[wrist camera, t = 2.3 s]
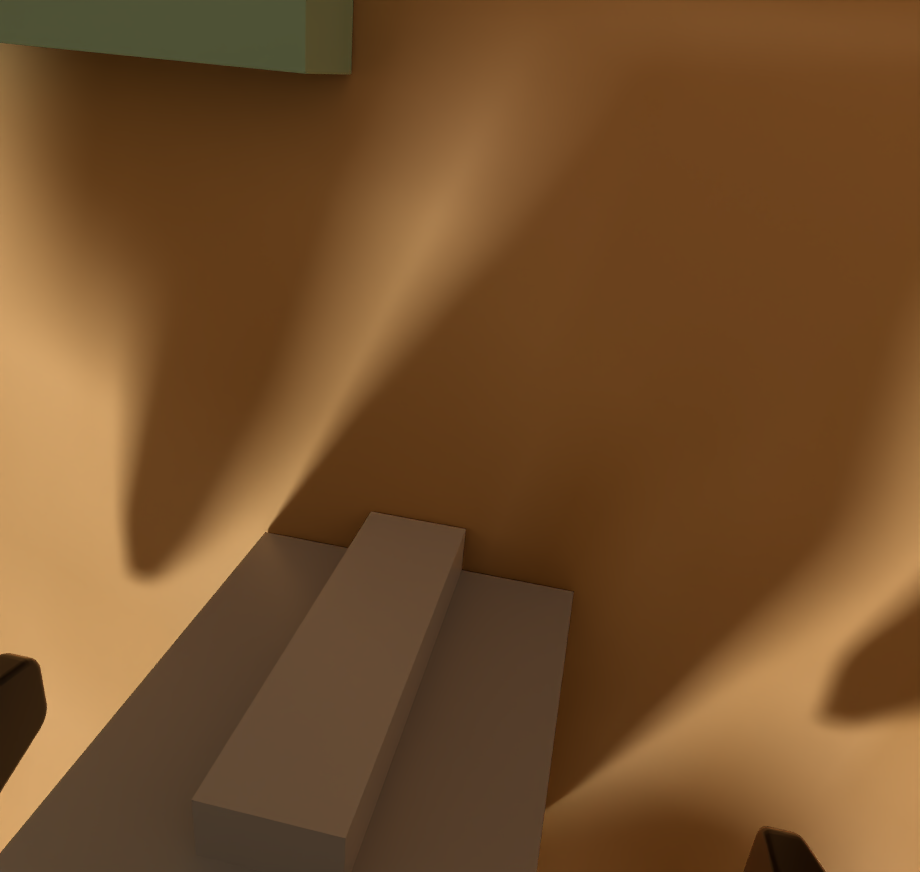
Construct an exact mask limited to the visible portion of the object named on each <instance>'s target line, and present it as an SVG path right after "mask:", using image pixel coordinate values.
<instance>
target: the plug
mask: <svg viewBox="0 0 920 872" xmlns="http://www.w3.org/2000/svg"><path fill="white" fill-rule="evenodd" d="M465 533H466V529H463V528H458V527H452V526H447V525H441V524H436V523H430V522H425V521H420V520H414V519H409V518H403V517H398V516H393V515H387V514H382V513H376V512H370V514H369V516H368V517H367V519H366V520H365V522H364V524H363V525H362V527H361V528H360V530H359V532H358V533H357V535H356V536H355V538H354V540H353V541H352V543H351V544H350V546H349V548H345V547H339V546H334V545H329V544H324V543H319V542H313V541H308V540H303V539H298V538H293V537H288V536H282V535H277V534H272V533H267V532H265V533H264V535H263V536H262V537H261V538H260V539H259V541H258V542H257V543H256V544H255V546H254V547H253V548H252V549H251V550H250V552H249V553H248V554H247V555H246V556H245V558H244V559H243V560H242V561H241V562H240V564H239V565H238V566H237V567H236V569H235V570H234V571H233V572H232V573H231V575H230V576H229V577H228V578H227V579H226V581H225V582H224V583H223V584H222V585H221V587H220V588H219V589H218V590H217V592H216V593H215V594H214V595H213V596H212V598H211V599H210V600H209V601H208V602H207V604H206V605H205V606H204V607H203V608H202V610H201V611H200V612H199V613H198V615H197V616H196V617H195V618H194V619H193V621H192V622H191V623H190V624H189V625H188V627H187V628H186V629H185V630H184V631H183V633H182V634H181V635H180V636H179V637H178V639H177V640H176V641H175V642H174V644H173V645H172V646H171V647H170V648H169V650H168V651H167V652H166V653H165V654H164V656H163V657H162V658H161V659H160V660H159V662H158V663H157V664H156V665H155V667H154V668H153V669H152V670H151V671H150V673H149V674H148V675H147V676H146V677H145V679H144V680H143V681H142V682H141V683H140V685H139V686H138V687H137V688H136V690H135V691H134V692H133V693H132V694H131V696H130V697H129V698H128V699H127V700H126V702H125V703H124V704H123V705H122V706H121V708H120V709H119V710H118V711H117V713H116V714H115V715H114V716H113V717H112V719H111V720H110V721H109V722H108V723H107V725H106V726H105V727H104V728H103V729H102V731H101V732H100V733H99V734H98V735H97V737H96V738H95V739H94V740H93V742H92V743H91V744H90V745H89V746H88V748H87V749H86V750H85V751H84V752H83V754H82V755H81V756H80V757H79V758H78V760H77V761H76V762H75V763H74V765H73V766H72V767H71V768H70V769H69V771H68V772H67V773H66V774H65V775H64V777H63V778H62V779H61V780H60V781H59V783H58V784H57V785H56V786H55V788H54V789H53V790H52V791H51V792H50V794H49V795H48V796H47V797H46V798H45V800H44V801H43V802H42V803H41V804H40V806H39V807H38V808H37V809H36V811H35V812H34V813H33V814H32V815H31V817H30V818H29V819H28V820H27V821H26V823H25V824H24V825H23V826H22V827H21V829H20V830H19V831H18V832H17V833H16V835H15V836H14V837H13V838H12V840H11V841H10V842H9V843H8V844H7V846H6V847H5V848H4V849H3V850H2V852H1V853H0V872H537V865H538V857H539V850H540V842H541V835H542V827H543V820H544V812H545V805H546V797H547V789H548V782H549V774H550V767H551V759H552V752H553V744H554V737H555V729H556V722H557V714H558V706H559V699H560V691H561V684H562V676H563V669H564V661H565V654H566V646H567V639H568V631H569V623H570V616H571V608H572V601H573V593H574V592H573V591H567V590H562V589H557V588H552V587H547V586H541V585H536V584H531V583H526V582H521V581H516V580H510V579H505V578H500V577H495V576H490V575H484V574H479V573H474V572H469V571H464V570H462V562H463V552H464V543H465Z"/></svg>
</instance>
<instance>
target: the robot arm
mask: <svg viewBox="0 0 920 872" xmlns="http://www.w3.org/2000/svg"><path fill="white" fill-rule="evenodd" d="M46 711H47V703H46V698H45V692H44V686H43V680H42V675H41V669H40V665H39V664H38V662H37V661H36V660H35V659H33V658H29V657H24V656H20V655H16V654H11V653H6V654H1V655H0V792H1V791H2V789H3V787H4V786H5V784H6V783H7V781H8V779H9V778H10V776H11V775H12V773H13V771H14V770H15V768H16V767H17V765H18V763H19V762H20V760H21V759H22V757H23V755H24V754H25V752H26V751H27V749H28V747H29V746H30V744H31V743H32V741H33V739H34V738H35V736H36V735H37V733H38V731H39V730H40V728H41V726H42V724H43V722H44V720H45V716H46ZM744 872H825V870H824V869H823V867H822V866H821V864H820V863H819V861H818V860H817V858H816V857H815V855H814V854H813V853H812V851H811V850H810V848H809V847H808V845H807V844H806V842H805V841H804V840H803V838H801V837H800V836H799V835H798V834H796V833H793V832H789V831H785V830H781V829H776V828H772V827H768V826H767V827H762V828H761V829H760V830H759V831H758V833H757V835H756V838H755V840H754V843H753V846H752V849H751V852H750V855H749V857H748V860H747V863H746V866H745V869H744Z"/></svg>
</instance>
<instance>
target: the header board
mask: <svg viewBox="0 0 920 872" xmlns="http://www.w3.org/2000/svg"><path fill="white" fill-rule="evenodd" d="M352 28H353V0H0V43H6V44H16V45H26V46H36V47H46V48H56V49H66V50H76V51H86V52H96V53H106V54H116V55H126V56H135V57H145V58H155V59H165V60H175V61H185V62H195V63H205V64H215V65H225V66H235V67H245V68H254V69H264V70H274V71H284V72H294V73H304V74H351V66H352Z"/></svg>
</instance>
